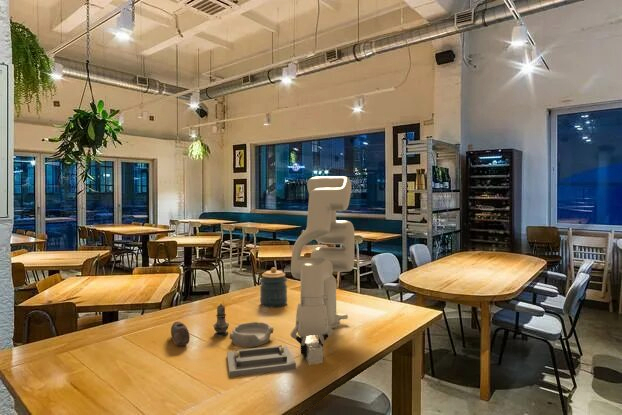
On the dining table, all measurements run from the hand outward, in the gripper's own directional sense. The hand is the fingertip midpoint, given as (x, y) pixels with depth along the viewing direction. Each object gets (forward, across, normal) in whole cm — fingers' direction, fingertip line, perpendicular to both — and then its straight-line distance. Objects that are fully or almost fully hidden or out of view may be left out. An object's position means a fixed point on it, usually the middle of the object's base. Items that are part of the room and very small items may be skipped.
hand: (311, 354), depth 129 cm
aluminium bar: (+1, 0, 0) cm, 1 cm away
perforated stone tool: (+1, +43, -25) cm, 50 cm away
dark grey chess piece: (+1, +28, -28) cm, 40 cm away
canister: (+1, +2, -62) cm, 62 cm away
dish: (+1, +18, -19) cm, 26 cm away
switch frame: (+1, +17, 0) cm, 17 cm away
